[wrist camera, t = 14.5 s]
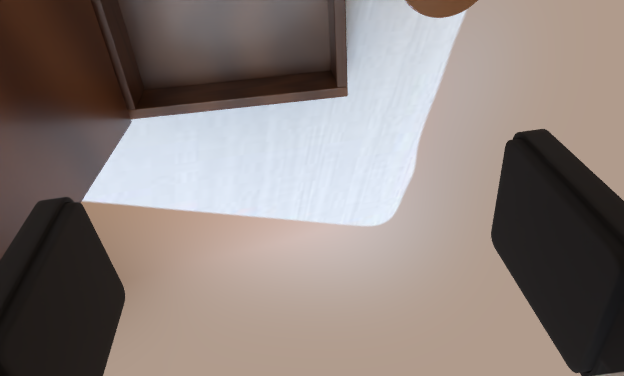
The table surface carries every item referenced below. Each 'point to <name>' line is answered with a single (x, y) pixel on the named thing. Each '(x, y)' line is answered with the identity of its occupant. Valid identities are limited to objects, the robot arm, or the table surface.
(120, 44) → the chest
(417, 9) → the honey pot
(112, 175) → the table surface
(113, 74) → the chest lid
